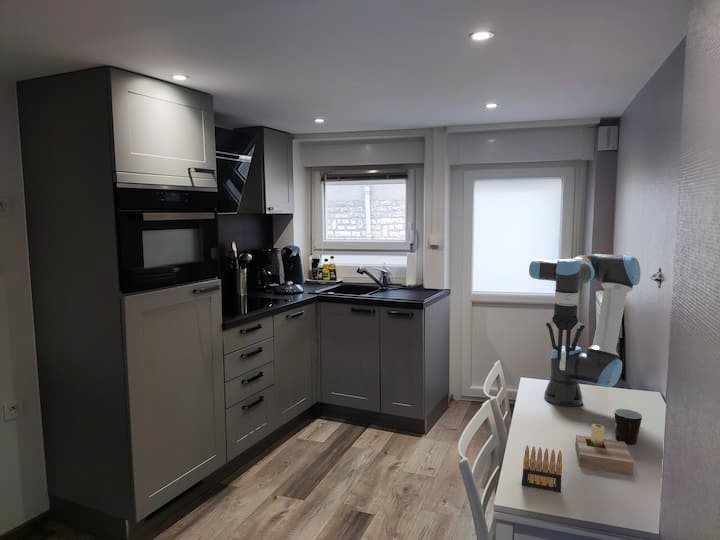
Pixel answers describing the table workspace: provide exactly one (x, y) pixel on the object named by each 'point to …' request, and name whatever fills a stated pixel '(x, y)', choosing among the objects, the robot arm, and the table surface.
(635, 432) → the coffee mug
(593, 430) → the tan cylinder
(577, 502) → the table surface
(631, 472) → the block
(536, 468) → the ammunition clip
